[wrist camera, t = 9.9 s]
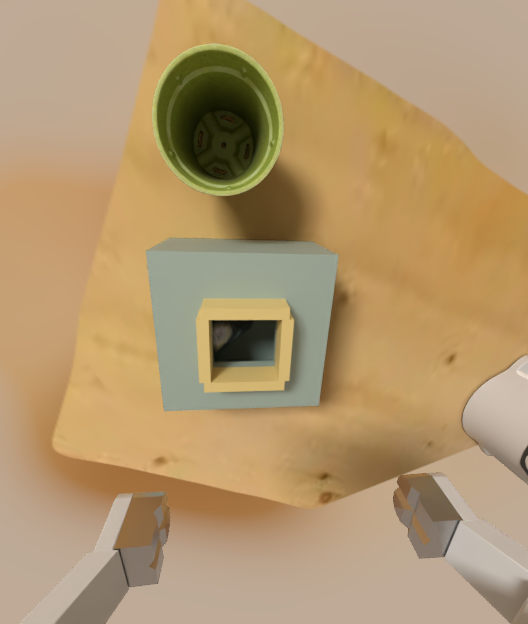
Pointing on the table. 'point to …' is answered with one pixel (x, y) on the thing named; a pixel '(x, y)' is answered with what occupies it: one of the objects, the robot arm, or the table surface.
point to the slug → (228, 332)
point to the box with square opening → (241, 306)
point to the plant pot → (217, 119)
